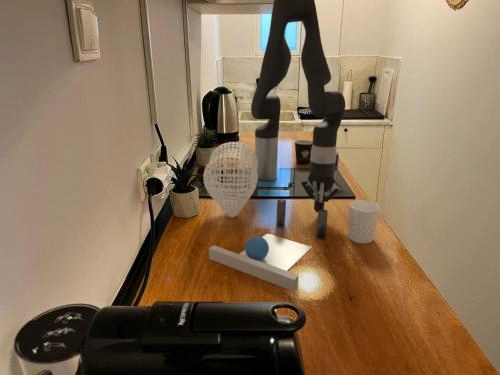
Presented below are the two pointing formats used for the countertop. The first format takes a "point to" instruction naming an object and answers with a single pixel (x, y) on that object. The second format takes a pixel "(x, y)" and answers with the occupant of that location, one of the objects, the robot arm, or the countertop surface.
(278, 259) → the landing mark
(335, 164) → the energy drink
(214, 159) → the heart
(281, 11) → the robot arm
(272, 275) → the stopper wall
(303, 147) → the coffee mug
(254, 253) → the ball
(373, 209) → the white cup
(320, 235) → the right post
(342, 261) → the countertop surface
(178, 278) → the countertop surface
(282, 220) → the left post
